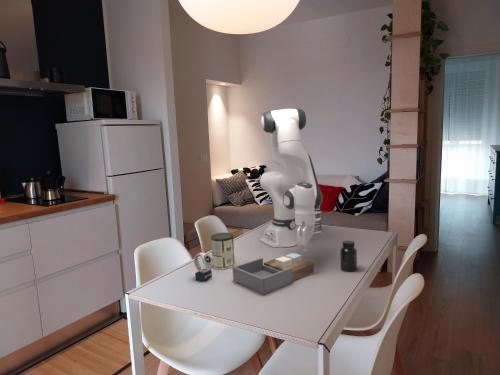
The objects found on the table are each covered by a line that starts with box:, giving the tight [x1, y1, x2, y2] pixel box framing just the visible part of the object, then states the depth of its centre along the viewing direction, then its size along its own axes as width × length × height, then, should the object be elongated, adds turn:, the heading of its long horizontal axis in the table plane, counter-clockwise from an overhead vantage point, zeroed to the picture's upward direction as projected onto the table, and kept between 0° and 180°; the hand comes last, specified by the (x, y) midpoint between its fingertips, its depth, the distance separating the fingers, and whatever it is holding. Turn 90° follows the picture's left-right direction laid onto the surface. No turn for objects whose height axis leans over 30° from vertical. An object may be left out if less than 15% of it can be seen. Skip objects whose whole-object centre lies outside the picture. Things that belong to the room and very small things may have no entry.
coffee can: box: [210, 232, 236, 270], centre depth 167 cm, size 10×10×14 cm
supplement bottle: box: [339, 240, 358, 273], centre depth 156 cm, size 7×7×12 cm
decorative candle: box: [313, 205, 322, 235], centre depth 216 cm, size 9×9×25 cm
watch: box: [193, 252, 213, 283], centre depth 152 cm, size 6×8×11 cm
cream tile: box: [274, 255, 292, 268], centre depth 154 cm, size 5×5×2 cm
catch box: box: [232, 257, 294, 296], centre depth 147 cm, size 18×16×6 cm
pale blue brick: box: [284, 252, 303, 264], centre depth 157 cm, size 5×5×2 cm
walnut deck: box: [263, 254, 315, 282], centre depth 156 cm, size 16×14×4 cm
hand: (305, 250), depth 162 cm, fingers closed
